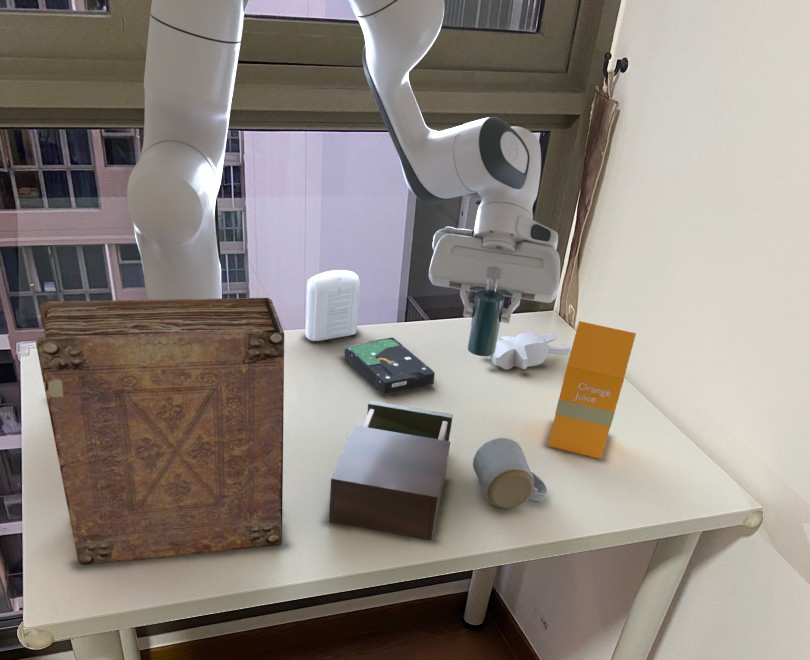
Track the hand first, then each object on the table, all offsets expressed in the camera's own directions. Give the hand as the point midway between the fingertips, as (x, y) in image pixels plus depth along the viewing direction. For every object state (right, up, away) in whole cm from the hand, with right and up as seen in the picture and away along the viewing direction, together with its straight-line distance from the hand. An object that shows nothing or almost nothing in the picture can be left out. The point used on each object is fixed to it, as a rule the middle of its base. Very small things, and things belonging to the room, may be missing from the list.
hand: (486, 318), depth 130 cm
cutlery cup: (0, -4, +4) cm, 6 cm away
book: (-42, -33, -20) cm, 57 cm away
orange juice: (+16, -18, +8) cm, 25 cm away
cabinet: (-15, -29, -10) cm, 34 cm away
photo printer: (-27, +5, +30) cm, 40 cm away
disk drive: (-16, -4, +20) cm, 26 cm away
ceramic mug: (+3, -28, -6) cm, 28 cm away
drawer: (-13, -21, -2) cm, 25 cm away
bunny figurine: (+10, -1, +29) cm, 31 cm away
